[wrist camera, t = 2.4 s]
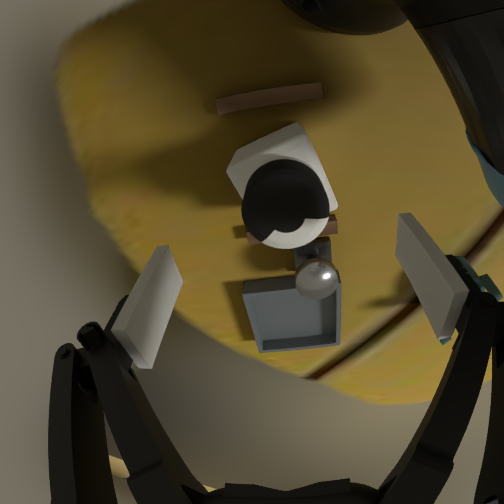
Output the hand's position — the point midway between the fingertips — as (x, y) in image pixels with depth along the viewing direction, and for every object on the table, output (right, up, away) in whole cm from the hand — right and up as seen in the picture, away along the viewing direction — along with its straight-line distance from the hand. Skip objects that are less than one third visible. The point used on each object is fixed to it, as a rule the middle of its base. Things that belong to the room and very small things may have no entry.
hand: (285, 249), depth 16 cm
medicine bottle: (+1, +9, +13) cm, 16 cm away
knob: (+5, 0, +19) cm, 19 cm away
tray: (+4, -8, +24) cm, 26 cm away
